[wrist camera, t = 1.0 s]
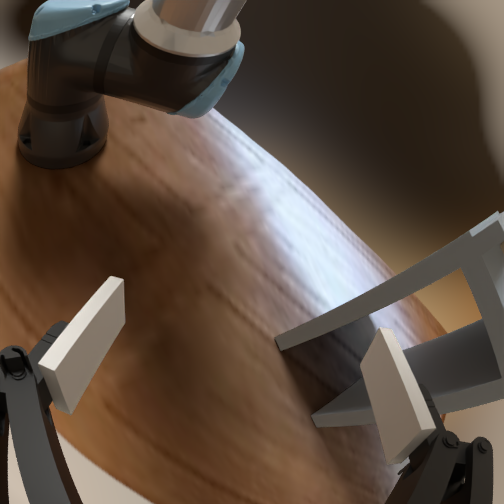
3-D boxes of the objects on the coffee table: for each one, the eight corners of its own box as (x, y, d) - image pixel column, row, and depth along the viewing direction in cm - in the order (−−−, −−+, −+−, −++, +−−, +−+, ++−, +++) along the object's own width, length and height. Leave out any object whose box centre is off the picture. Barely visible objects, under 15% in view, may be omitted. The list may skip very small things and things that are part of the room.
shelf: (316, 427, 35) (557, 378, 12) (274, 337, 39) (499, 209, 16) (392, 364, 47) (555, 296, 23) (360, 294, 51) (513, 199, 27)
